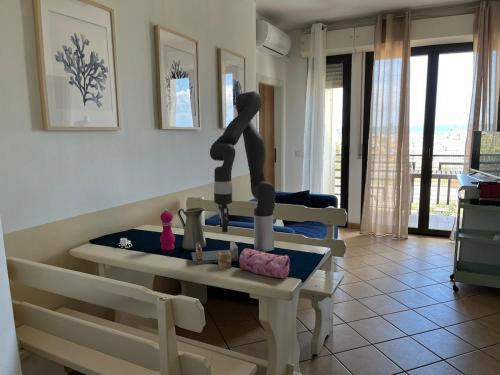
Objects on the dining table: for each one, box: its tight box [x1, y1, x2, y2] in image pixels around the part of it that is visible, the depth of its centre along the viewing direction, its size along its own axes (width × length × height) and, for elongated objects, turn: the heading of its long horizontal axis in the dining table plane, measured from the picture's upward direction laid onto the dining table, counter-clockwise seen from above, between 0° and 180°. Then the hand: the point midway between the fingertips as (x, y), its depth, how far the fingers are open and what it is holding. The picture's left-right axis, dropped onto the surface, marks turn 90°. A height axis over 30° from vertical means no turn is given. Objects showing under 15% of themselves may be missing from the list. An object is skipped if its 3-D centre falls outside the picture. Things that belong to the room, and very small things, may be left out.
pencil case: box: [238, 247, 292, 279], centre depth 149 cm, size 21×9×9 cm, turn 59°
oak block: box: [217, 250, 232, 270], centre depth 157 cm, size 5×5×6 cm
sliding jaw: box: [195, 241, 203, 259], centre depth 166 cm, size 2×10×5 cm, turn 12°
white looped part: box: [119, 237, 133, 249], centre depth 188 cm, size 9×8×4 cm
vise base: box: [191, 241, 240, 265], centre depth 168 cm, size 20×12×6 cm, turn 102°
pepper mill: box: [159, 208, 176, 251], centre depth 181 cm, size 7×7×20 cm
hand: (223, 229), depth 156 cm, fingers open, 8 cm apart
